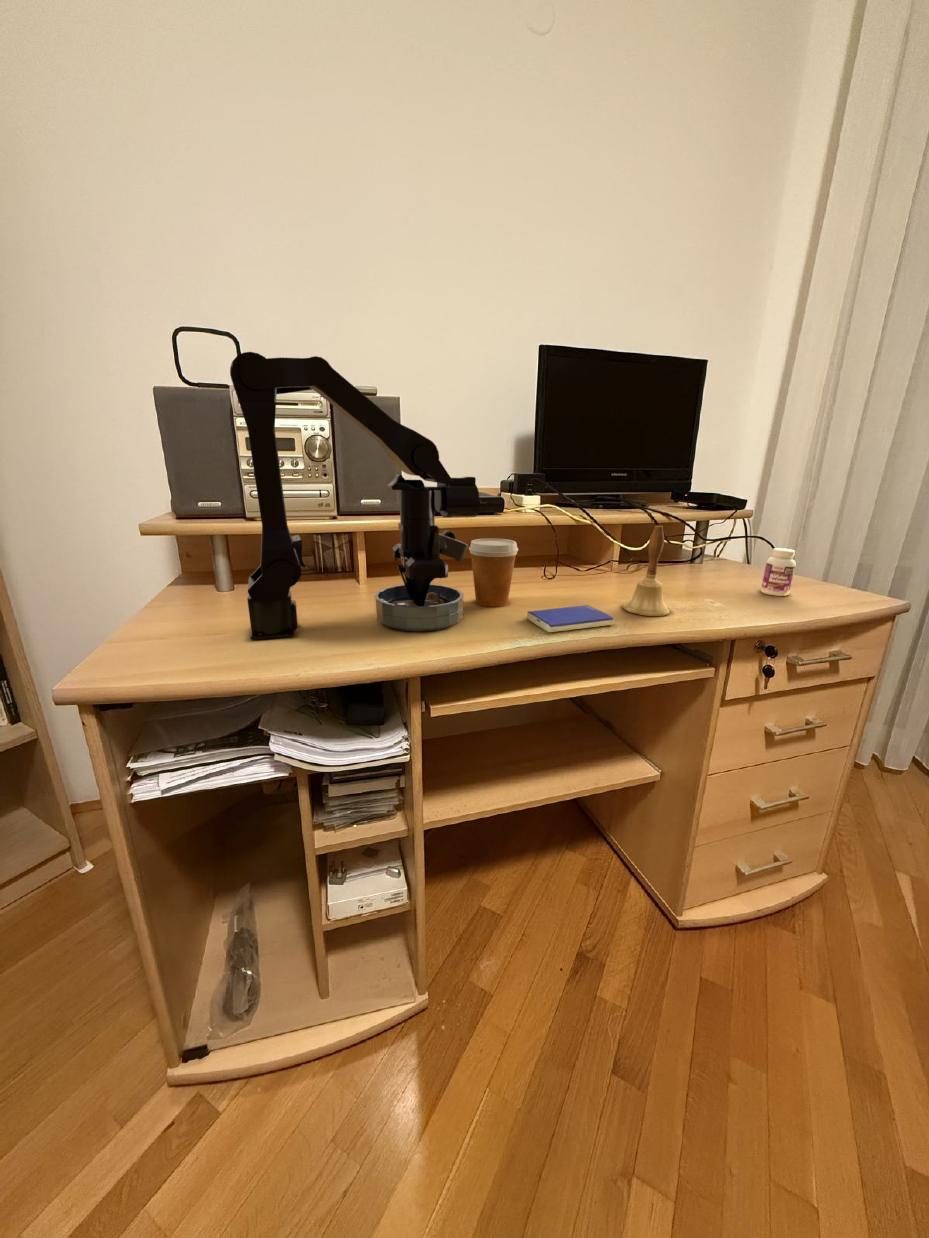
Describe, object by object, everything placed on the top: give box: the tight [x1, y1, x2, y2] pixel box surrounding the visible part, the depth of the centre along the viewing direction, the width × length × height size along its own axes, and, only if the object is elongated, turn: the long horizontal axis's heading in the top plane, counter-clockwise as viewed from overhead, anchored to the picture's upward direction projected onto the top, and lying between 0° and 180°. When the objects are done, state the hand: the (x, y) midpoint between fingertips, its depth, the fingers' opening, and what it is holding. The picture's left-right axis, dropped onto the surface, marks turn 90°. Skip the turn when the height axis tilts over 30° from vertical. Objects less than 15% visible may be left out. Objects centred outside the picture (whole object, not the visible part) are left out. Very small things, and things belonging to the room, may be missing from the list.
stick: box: [391, 599, 445, 606], centre depth 86 cm, size 10×2×2 cm, turn 103°
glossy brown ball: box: [425, 592, 440, 600], centre depth 89 cm, size 3×3×3 cm
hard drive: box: [526, 604, 614, 633], centre depth 86 cm, size 2×8×12 cm
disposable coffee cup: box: [468, 537, 520, 608], centre depth 95 cm, size 10×10×12 cm
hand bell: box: [622, 525, 670, 617], centre depth 91 cm, size 8×8×16 cm
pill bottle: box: [760, 547, 797, 597], centre depth 106 cm, size 5×5×10 cm
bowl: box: [373, 583, 464, 632], centre depth 85 cm, size 15×15×4 cm
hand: (417, 608), depth 86 cm, fingers closed on stick, 2 cm apart
